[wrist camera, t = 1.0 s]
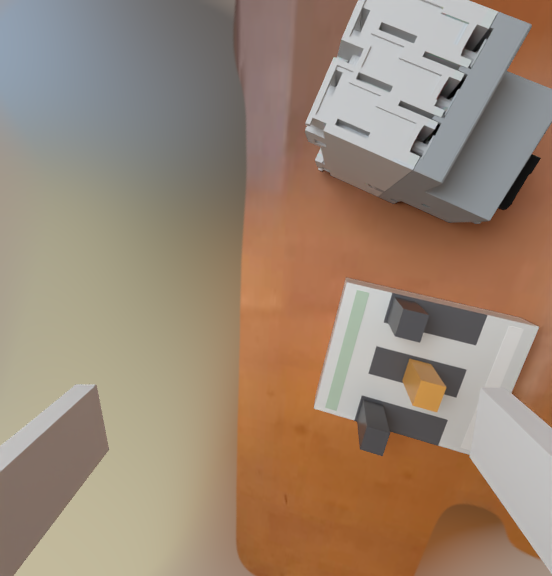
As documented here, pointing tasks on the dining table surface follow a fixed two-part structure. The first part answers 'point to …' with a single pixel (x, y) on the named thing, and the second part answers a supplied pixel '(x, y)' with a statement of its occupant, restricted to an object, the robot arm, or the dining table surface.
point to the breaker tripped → (423, 385)
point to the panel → (432, 349)
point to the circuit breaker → (430, 108)
